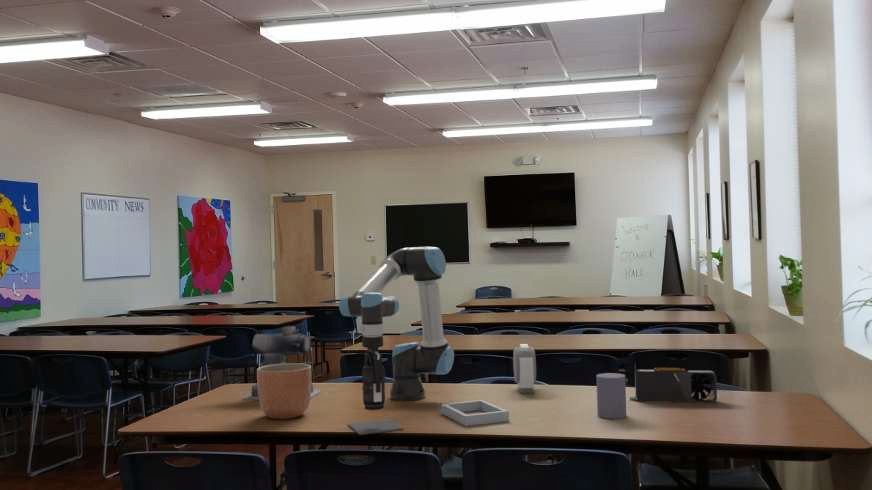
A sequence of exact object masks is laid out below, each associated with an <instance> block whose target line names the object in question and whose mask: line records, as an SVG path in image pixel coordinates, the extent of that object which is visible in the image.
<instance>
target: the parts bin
mask: <svg viewBox="0 0 872 490" xmlns="http://www.w3.org/2000/svg"><path fill="white" fill-rule="evenodd" d="M440 406H441V407H440V408H441V414H442V415H443V416H446V417H448V418H450V419H451V420H454V421H455V422H457V423H459V424H461V425H462V426H464V425H465V427H469V426H468V425H471V426H476V425H477V426H478V424H479V425H486V424H494V422H495V423H503V422H509V421H510V411H509V410H507V409H504V408H502V407H500V406H498V405H495V404H493V403H491V402H488V401H485V400H483V399H478V400H477V399H476V400H469V401H459V402H458V401H457V402H451V403H441V405H440ZM475 410H476V411H482V413H480V412H479V413H473V414H466V412H465V411H467V412H475Z"/></svg>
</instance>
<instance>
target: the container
mask: <svg viewBox="0 0 872 490" xmlns="http://www.w3.org/2000/svg"><path fill="white" fill-rule="evenodd" d="M626 396H627V394H626V375H625V374H623V373H617V372H616V373H615V372H604V373H598V374H596V404H597V416H598V418H601V417H602V418H601V419H605V418H608V419H607V420H619V418H621V419H623V418H626V417H627V397H626Z"/></svg>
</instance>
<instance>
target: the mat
mask: <svg viewBox="0 0 872 490" xmlns="http://www.w3.org/2000/svg"><path fill="white" fill-rule="evenodd" d="M347 426H348V427H349V428H350V429H352V431H354V432H356V433H357V434H358V435H359V436H363V435H371V434H377V433H378V434H379V433H380V434H381V433H387V432H394V431H403V430H404V427H403V426H401V425H400V424H398V423H396V422H395V421H394V420H392V419H391V418H386V419H379V420H378V419H377V420H369V421H368V420H367V421H360V422H351V423H347Z"/></svg>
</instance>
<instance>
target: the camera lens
mask: <svg viewBox="0 0 872 490" xmlns="http://www.w3.org/2000/svg"><path fill="white" fill-rule="evenodd" d="M382 370H383V382H382V383H381V391H382V401H380V402H374V390H373V383H372V382H374V376H373V369H372V366H365V365H364V366H363V367H362V372H361V373H362V374H361V375H362V376H361V377H362V379H361V380H362V386H361V388H362V389H361V391H362V402H363V405H364V410H367V411H379V410H383V409H384V407H385V406H384V404H385V402H386V401H385V400H386V389H385V387H386V385H385V381H386V370H385V366H384V365H382Z"/></svg>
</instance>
